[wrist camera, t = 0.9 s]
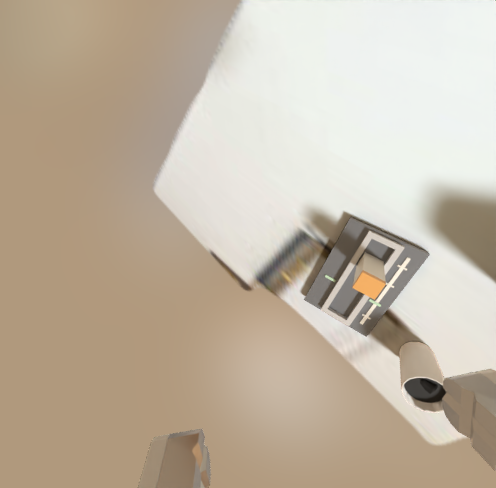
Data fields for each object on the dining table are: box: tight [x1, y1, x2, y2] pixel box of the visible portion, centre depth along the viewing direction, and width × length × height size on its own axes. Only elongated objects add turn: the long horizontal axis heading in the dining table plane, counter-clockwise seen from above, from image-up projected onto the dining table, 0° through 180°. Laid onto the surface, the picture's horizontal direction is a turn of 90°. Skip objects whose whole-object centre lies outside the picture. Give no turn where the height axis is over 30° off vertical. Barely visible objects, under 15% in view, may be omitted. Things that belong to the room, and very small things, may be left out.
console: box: [304, 217, 430, 337], centre depth 48 cm, size 20×14×2 cm
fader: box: [352, 252, 386, 300], centre depth 42 cm, size 3×4×10 cm
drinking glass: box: [399, 342, 447, 413], centre depth 44 cm, size 7×7×10 cm
